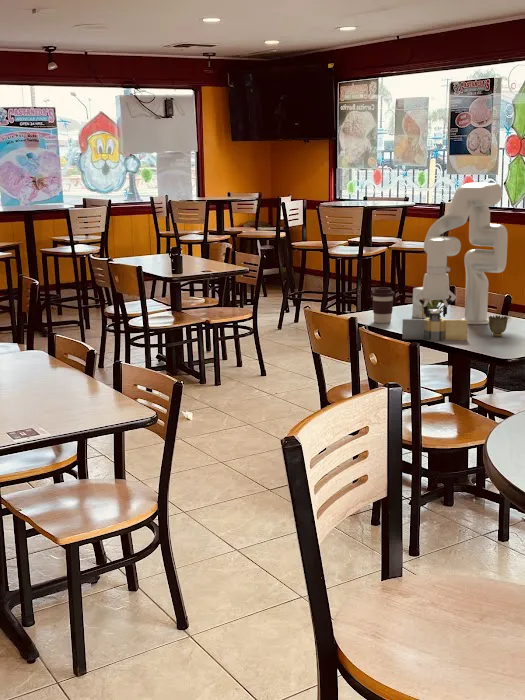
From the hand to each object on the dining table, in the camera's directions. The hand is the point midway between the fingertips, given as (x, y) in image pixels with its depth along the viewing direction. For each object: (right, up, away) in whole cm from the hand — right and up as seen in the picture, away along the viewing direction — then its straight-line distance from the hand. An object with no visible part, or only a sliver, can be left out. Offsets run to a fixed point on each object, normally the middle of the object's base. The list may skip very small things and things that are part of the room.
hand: (435, 315), depth 341 cm
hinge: (0, -9, +2) cm, 10 cm away
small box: (+5, +1, +51) cm, 51 cm away
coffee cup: (-15, -1, +39) cm, 42 cm away
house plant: (+4, -6, +19) cm, 21 cm away
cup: (+26, -8, +6) cm, 28 cm away
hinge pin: (0, -10, +2) cm, 10 cm away
